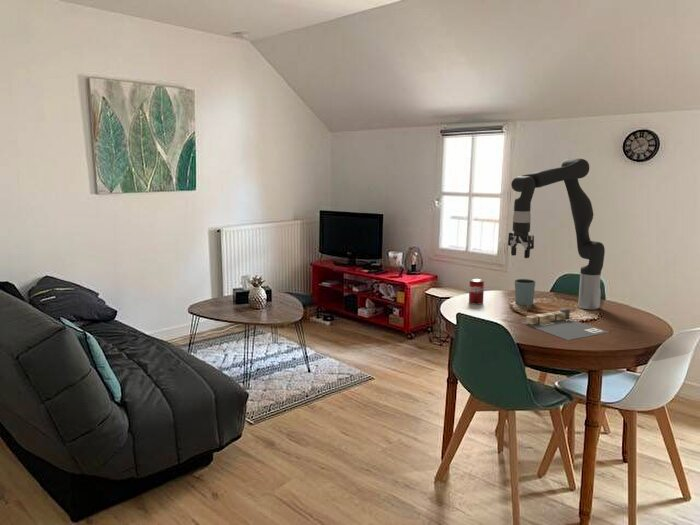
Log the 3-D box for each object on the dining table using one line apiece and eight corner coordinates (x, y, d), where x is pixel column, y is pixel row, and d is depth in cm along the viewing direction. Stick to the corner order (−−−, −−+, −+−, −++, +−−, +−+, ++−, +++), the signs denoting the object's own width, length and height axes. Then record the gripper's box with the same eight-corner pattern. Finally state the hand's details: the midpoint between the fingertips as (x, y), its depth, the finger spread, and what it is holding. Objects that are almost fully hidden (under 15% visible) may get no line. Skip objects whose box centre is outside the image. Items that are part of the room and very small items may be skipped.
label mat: (560, 316, 253) (560, 315, 253) (610, 332, 228) (610, 331, 228) (519, 322, 243) (519, 322, 243) (567, 340, 218) (567, 339, 218)
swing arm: (564, 316, 251) (564, 307, 250) (571, 318, 247) (572, 309, 246) (525, 322, 241) (525, 313, 241) (532, 324, 237) (532, 316, 237)
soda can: (483, 305, 274) (484, 282, 272) (468, 304, 276) (469, 281, 274) (482, 301, 281) (483, 279, 279) (468, 301, 283) (469, 278, 281)
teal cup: (536, 306, 271) (538, 282, 269) (516, 306, 271) (517, 283, 269) (530, 301, 281) (531, 278, 279) (511, 301, 281) (512, 278, 279)
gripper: (539, 222, 236) (537, 258, 239) (517, 219, 249) (515, 253, 252) (526, 223, 233) (524, 259, 236) (504, 220, 246) (503, 255, 249)
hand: (520, 256), depth 244 cm, fingers open, 8 cm apart
